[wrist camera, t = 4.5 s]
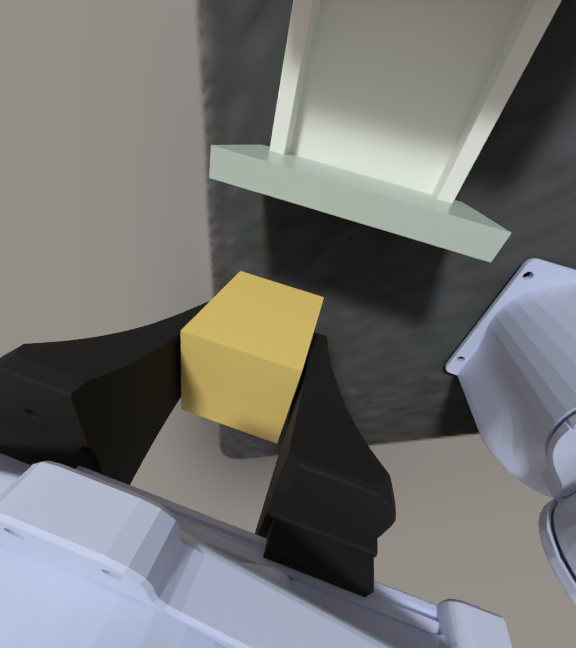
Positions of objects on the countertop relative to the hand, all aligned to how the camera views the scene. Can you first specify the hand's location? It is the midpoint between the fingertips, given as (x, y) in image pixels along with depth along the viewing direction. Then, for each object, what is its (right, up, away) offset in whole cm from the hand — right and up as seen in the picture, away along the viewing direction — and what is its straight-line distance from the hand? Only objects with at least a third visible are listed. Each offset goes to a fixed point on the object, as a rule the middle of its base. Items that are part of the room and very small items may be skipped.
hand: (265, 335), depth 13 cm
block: (0, +1, +1) cm, 1 cm away
